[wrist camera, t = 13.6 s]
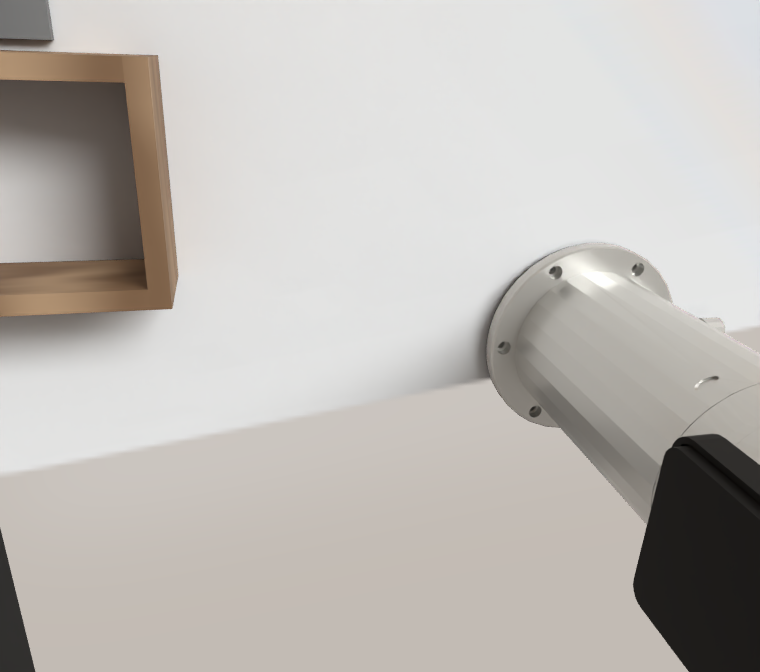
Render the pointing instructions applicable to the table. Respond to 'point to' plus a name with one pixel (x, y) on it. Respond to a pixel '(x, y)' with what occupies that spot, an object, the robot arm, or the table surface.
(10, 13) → the mat
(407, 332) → the table surface
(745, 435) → the robot arm
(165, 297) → the crate
